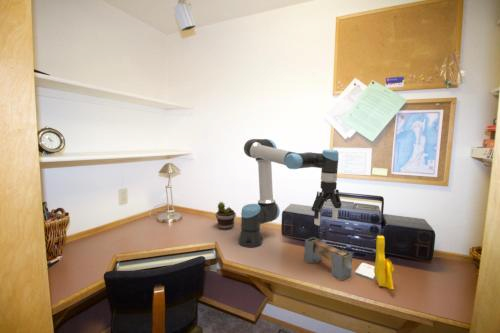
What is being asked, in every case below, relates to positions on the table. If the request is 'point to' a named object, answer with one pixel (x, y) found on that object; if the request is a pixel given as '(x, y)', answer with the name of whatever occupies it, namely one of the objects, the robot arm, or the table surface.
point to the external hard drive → (365, 271)
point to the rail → (326, 250)
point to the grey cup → (342, 266)
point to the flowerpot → (225, 217)
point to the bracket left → (311, 251)
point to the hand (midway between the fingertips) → (326, 222)
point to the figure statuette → (383, 265)
